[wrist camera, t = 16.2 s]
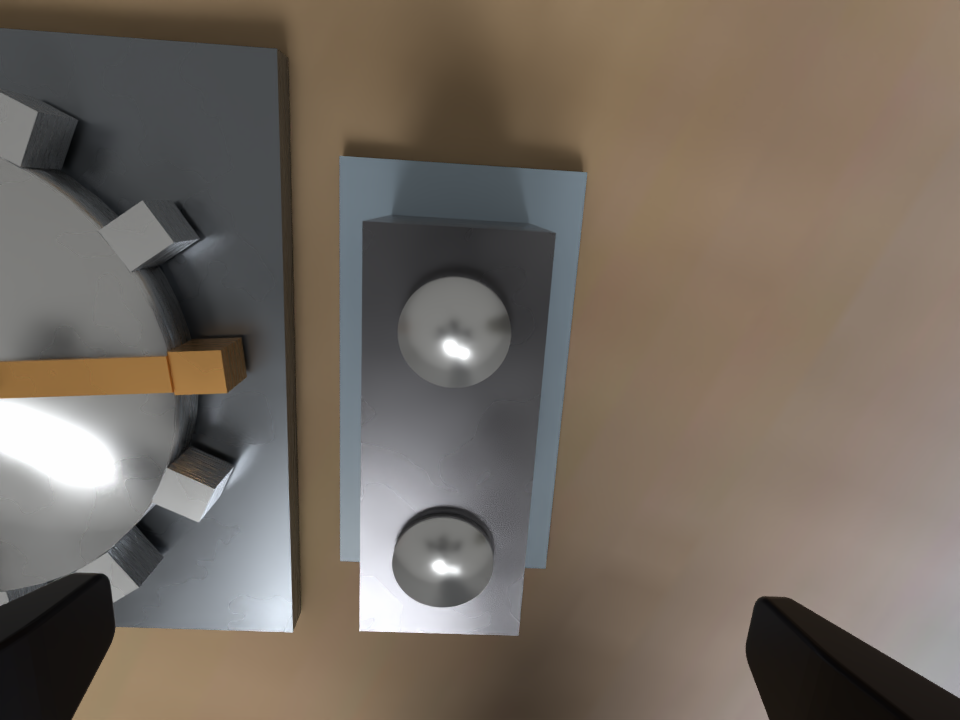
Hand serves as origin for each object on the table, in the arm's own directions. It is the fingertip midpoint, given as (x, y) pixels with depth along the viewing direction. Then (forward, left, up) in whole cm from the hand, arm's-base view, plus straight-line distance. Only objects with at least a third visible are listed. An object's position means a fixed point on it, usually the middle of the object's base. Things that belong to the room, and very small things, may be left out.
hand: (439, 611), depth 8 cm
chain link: (0, 0, -10) cm, 10 cm away
